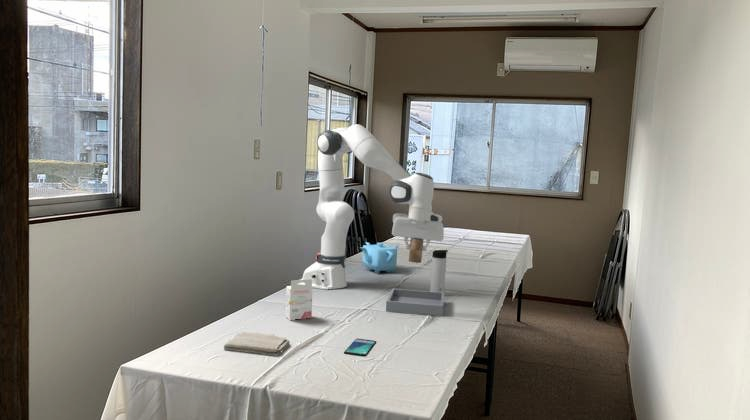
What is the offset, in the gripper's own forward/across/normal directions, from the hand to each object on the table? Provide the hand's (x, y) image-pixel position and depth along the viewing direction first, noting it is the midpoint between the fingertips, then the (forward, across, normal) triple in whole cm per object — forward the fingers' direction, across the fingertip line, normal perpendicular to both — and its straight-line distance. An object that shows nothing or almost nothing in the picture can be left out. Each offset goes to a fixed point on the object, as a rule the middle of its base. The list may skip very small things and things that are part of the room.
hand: (416, 249), depth 232 cm
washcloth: (+28, -42, -57) cm, 77 cm away
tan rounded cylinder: (+5, 0, 0) cm, 5 cm away
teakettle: (+24, -23, +70) cm, 78 cm away
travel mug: (+23, +10, +31) cm, 40 cm away
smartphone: (+26, -12, -48) cm, 56 cm away
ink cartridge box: (+27, -39, -24) cm, 53 cm away
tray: (+24, +2, +7) cm, 25 cm away
